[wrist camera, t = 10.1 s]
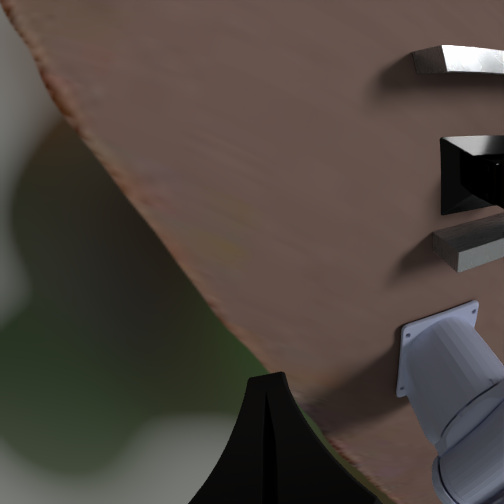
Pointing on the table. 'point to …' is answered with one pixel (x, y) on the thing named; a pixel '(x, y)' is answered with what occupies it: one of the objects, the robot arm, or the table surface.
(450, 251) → the steel channel
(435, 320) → the robot arm
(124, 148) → the table surface
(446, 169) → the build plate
